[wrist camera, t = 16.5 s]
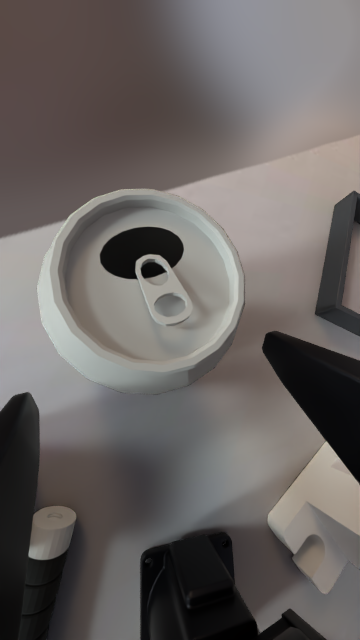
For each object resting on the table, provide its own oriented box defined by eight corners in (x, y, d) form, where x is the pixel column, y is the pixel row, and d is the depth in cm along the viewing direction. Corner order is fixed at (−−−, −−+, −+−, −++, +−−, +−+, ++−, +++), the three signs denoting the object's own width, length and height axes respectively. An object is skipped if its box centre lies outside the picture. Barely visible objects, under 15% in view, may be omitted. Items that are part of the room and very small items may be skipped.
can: (158, 278, 20) (214, 154, 9) (191, 361, 19) (301, 341, 8) (66, 305, 18) (-20, 181, 6) (100, 401, 17) (69, 454, 6)
